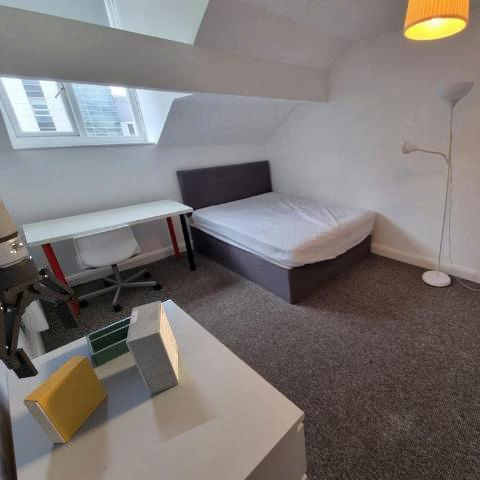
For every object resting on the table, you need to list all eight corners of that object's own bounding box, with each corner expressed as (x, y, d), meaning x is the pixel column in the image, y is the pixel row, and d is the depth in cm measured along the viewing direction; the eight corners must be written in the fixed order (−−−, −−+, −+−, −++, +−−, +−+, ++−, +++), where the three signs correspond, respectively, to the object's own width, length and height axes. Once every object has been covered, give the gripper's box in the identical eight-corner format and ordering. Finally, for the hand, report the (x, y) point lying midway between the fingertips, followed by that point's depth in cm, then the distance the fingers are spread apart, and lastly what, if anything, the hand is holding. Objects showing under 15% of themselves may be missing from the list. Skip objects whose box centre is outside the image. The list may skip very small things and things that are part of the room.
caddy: (91, 346, 92) (85, 335, 90) (144, 322, 102) (140, 312, 100) (96, 367, 84) (91, 356, 82) (154, 338, 94) (150, 328, 92)
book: (52, 443, 64) (21, 401, 58) (96, 394, 75) (74, 355, 69) (65, 444, 63) (35, 402, 57) (107, 395, 75) (86, 356, 69)
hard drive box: (152, 357, 87) (132, 307, 78) (178, 348, 90) (161, 299, 82) (149, 396, 74) (125, 342, 66) (179, 384, 77) (160, 331, 69)
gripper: (-42, 299, 38) (29, 399, 47) (69, 234, 61) (103, 309, 69) (-108, 308, 37) (-23, 408, 46) (30, 238, 59) (70, 314, 68)
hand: (53, 349), depth 57 cm, fingers open, 13 cm apart
